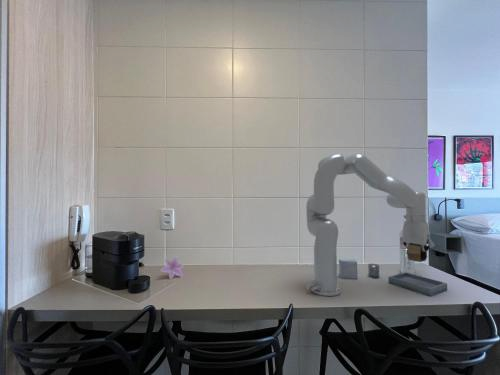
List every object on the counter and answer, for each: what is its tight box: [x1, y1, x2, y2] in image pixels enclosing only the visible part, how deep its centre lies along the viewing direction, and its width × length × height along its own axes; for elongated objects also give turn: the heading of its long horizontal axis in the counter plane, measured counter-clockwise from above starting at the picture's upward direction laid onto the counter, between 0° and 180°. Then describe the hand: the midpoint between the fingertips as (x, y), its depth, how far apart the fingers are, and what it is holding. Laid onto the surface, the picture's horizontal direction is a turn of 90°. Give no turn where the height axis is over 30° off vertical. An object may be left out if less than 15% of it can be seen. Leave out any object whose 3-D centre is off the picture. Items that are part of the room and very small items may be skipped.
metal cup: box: [367, 263, 380, 279], centre depth 129 cm, size 5×5×6 cm
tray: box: [388, 272, 448, 297], centre depth 116 cm, size 14×18×3 cm
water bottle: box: [399, 229, 416, 275], centre depth 135 cm, size 7×7×25 cm
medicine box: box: [338, 258, 358, 280], centre depth 129 cm, size 8×4×9 cm, turn 84°
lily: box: [160, 254, 185, 280], centre depth 131 cm, size 12×12×10 cm
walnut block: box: [408, 244, 427, 263], centre depth 116 cm, size 5×5×7 cm
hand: (416, 258), depth 116 cm, fingers closed on walnut block, 5 cm apart
